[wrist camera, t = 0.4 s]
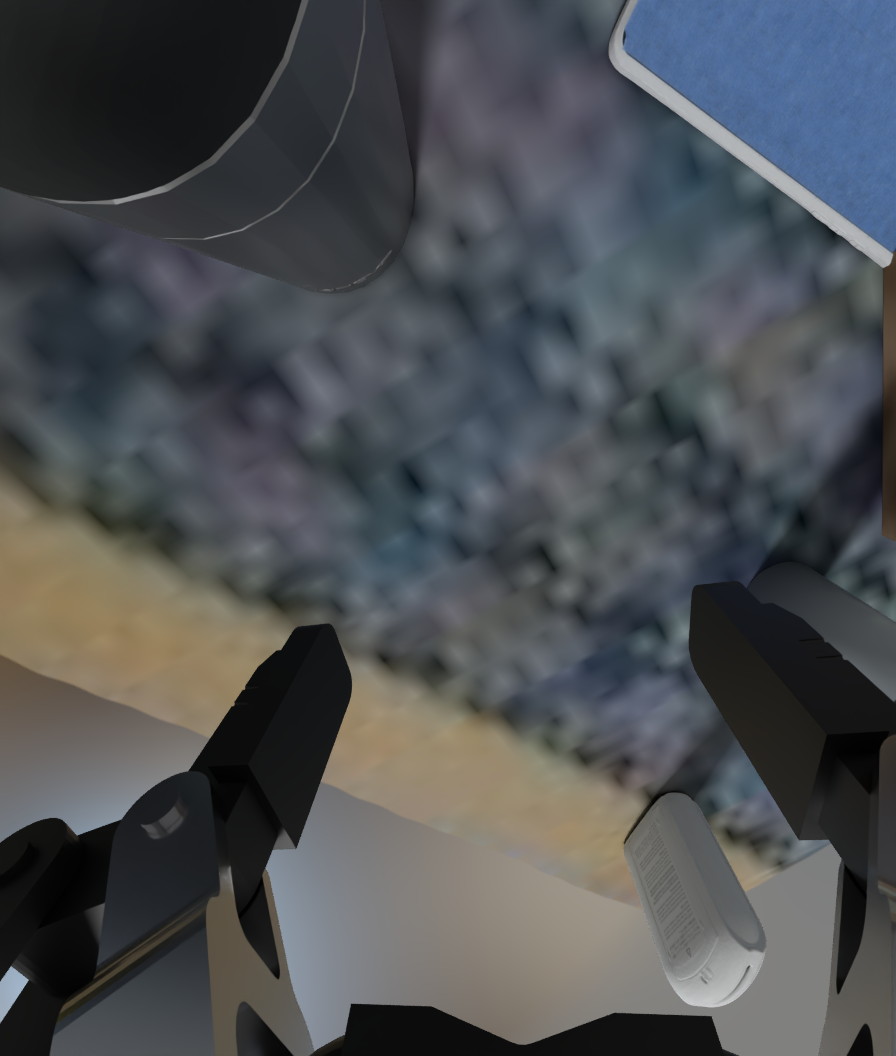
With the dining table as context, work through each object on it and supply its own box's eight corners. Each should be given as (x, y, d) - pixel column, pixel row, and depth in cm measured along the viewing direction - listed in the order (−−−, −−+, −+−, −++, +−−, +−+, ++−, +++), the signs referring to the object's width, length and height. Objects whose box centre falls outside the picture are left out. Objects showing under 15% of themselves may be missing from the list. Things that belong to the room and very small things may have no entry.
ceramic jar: (740, 575, 31) (904, 709, 20) (813, 551, 30) (1025, 676, 19) (748, 627, 33) (901, 774, 22) (817, 605, 32) (1012, 747, 21)
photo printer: (653, 854, 45) (722, 1028, 34) (615, 848, 44) (673, 1022, 33) (700, 793, 41) (797, 967, 30) (659, 786, 40) (742, 961, 29)
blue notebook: (1117, -15, 19) (1164, -39, 18) (884, 279, 23) (908, 276, 22) (793, -361, 15) (824, -421, 14) (594, 69, 20) (603, 52, 19)
